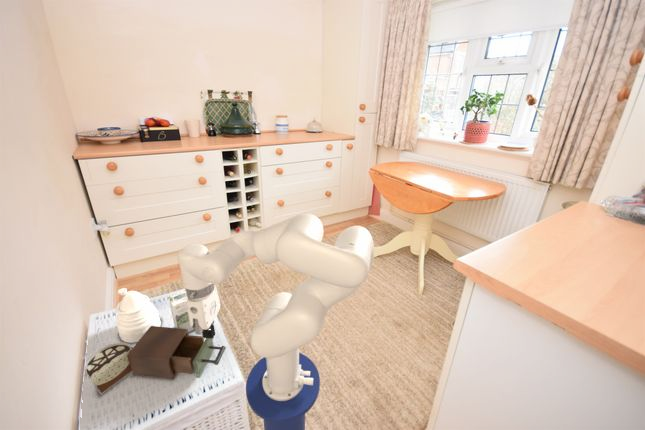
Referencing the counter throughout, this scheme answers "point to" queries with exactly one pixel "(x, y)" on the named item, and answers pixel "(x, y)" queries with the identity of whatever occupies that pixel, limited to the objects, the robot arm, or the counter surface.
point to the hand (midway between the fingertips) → (209, 336)
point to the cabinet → (156, 352)
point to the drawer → (194, 355)
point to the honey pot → (135, 315)
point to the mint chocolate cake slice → (108, 366)
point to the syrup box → (180, 311)
